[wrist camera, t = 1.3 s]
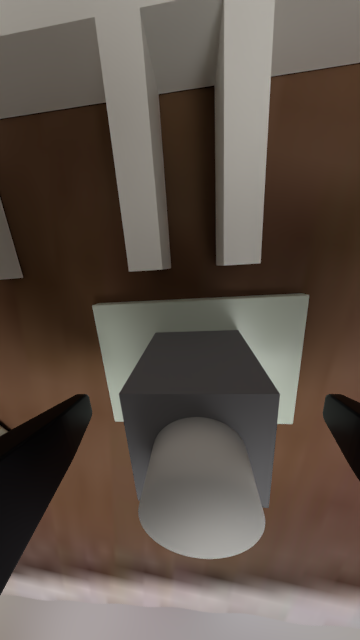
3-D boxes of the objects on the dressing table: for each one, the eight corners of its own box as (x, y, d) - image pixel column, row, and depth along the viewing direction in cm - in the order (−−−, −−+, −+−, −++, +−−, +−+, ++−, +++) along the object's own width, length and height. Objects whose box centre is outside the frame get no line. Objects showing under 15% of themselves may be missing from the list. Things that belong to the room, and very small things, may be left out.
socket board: (560, -192, 5) (918, -638, 2) (431, 251, 8) (534, 245, 5) (-96, -26, 7) (-257, -187, 4) (2, 279, 10) (-61, 283, 7)
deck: (302, 293, 9) (309, 295, 8) (287, 415, 11) (292, 423, 10) (98, 303, 10) (92, 305, 9) (118, 413, 12) (114, 421, 11)
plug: (238, 329, 9) (316, 449, 3) (236, 400, 10) (291, 585, 4) (155, 332, 9) (89, 443, 4) (162, 400, 10) (121, 569, 5)
